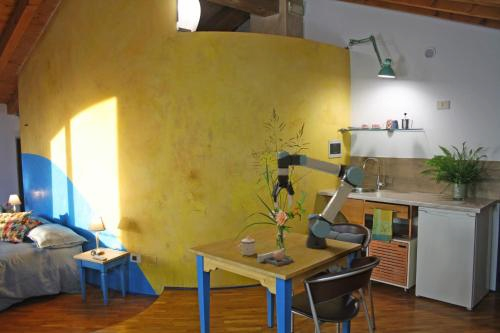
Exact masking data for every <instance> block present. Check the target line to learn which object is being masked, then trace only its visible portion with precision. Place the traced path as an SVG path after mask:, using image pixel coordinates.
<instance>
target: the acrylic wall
mask: <svg viewBox="0 0 500 333" xmlns="http://www.w3.org/2000/svg"><path fill="white" fill-rule="evenodd" d="M285 249H286V248H282V247H281V248H280V249H279V250H275V251H271V252H267V253H263V254H257V256H256V258H257V263H263V262H264V259H267V258H271V257H274V253H275V252H276V251H281V252H282V253H283V254H284V256H285V257H286V255H285V254H286V252H285V251H286V250H285Z"/></svg>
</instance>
